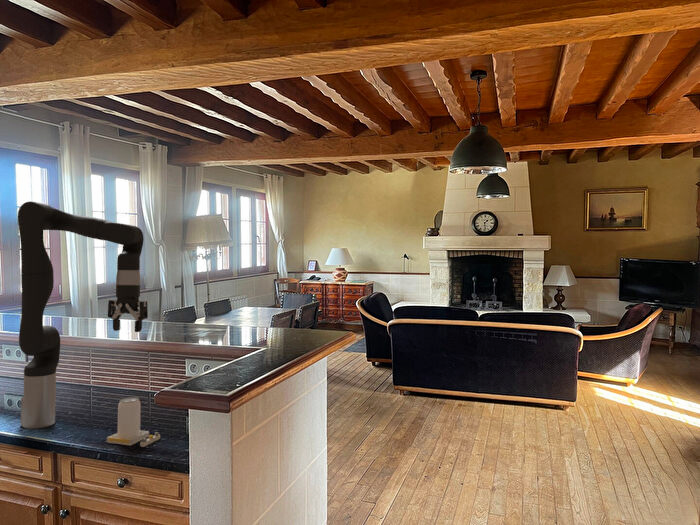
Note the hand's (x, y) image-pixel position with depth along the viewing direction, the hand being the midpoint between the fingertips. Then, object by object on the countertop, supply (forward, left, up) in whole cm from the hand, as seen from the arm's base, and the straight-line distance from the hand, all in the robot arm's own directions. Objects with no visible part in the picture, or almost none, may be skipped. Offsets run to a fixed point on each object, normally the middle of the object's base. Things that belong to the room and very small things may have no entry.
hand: (127, 331), depth 167 cm
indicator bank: (+18, -11, -32) cm, 38 cm away
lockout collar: (+10, -10, -32) cm, 35 cm away
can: (+10, -10, -32) cm, 35 cm away
